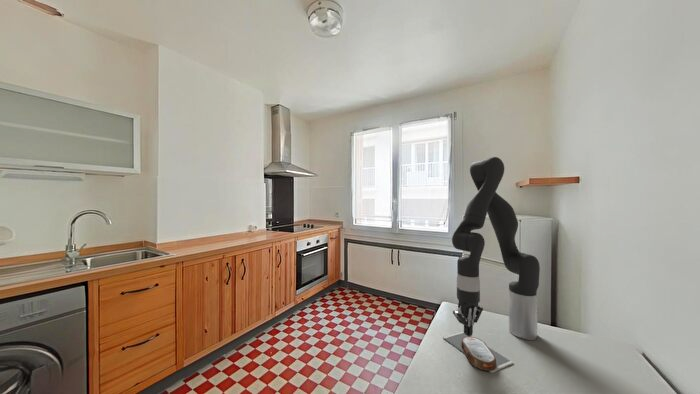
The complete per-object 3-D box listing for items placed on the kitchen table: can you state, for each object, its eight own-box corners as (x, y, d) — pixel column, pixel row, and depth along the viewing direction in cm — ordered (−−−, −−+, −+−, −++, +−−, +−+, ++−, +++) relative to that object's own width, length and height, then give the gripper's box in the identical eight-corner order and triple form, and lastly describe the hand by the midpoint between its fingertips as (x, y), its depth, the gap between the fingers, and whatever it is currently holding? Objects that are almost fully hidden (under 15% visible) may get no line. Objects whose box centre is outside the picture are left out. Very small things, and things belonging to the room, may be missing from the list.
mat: (463, 332, 97) (463, 331, 97) (513, 363, 78) (513, 362, 78) (443, 338, 93) (443, 337, 93) (491, 373, 74) (491, 371, 74)
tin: (474, 369, 75) (501, 373, 74) (474, 359, 75) (502, 363, 74) (457, 341, 90) (480, 344, 89) (458, 333, 90) (481, 336, 89)
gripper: (472, 281, 90) (472, 325, 90) (446, 286, 85) (446, 333, 85) (490, 287, 83) (490, 336, 83) (463, 293, 78) (463, 345, 78)
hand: (468, 334), depth 84 cm, fingers closed
